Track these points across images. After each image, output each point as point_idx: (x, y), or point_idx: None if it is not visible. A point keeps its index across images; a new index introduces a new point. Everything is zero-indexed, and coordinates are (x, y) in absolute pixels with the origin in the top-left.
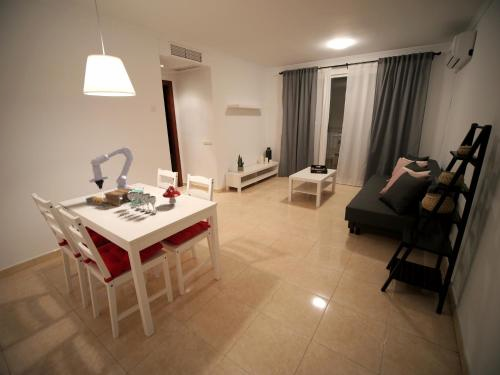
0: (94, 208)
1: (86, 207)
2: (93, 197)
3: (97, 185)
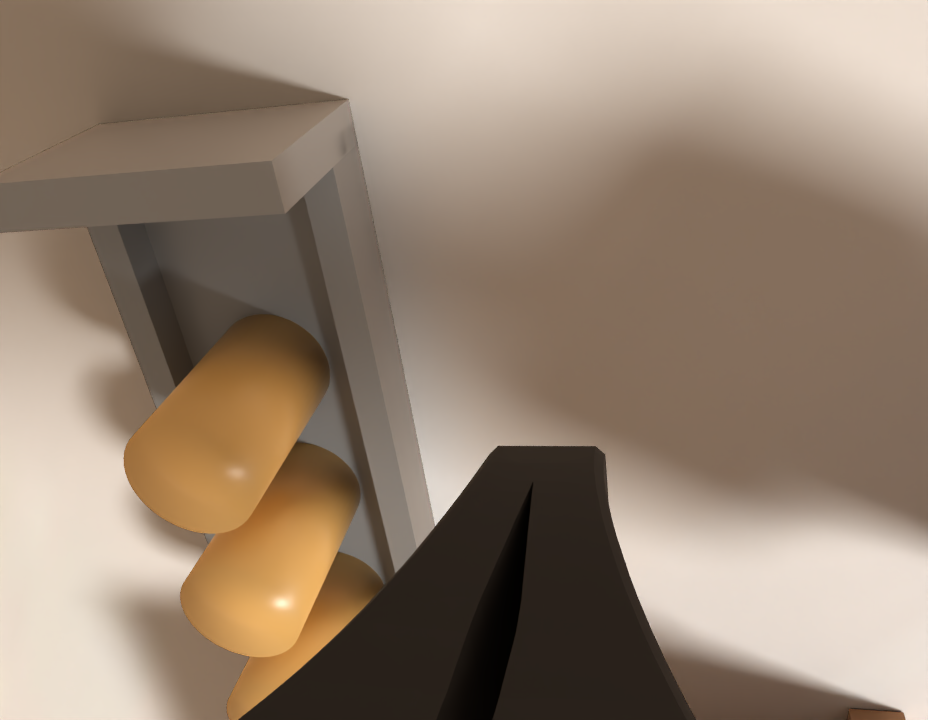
0: (135, 633)
1: (28, 443)
2: (147, 506)
3: (367, 614)
